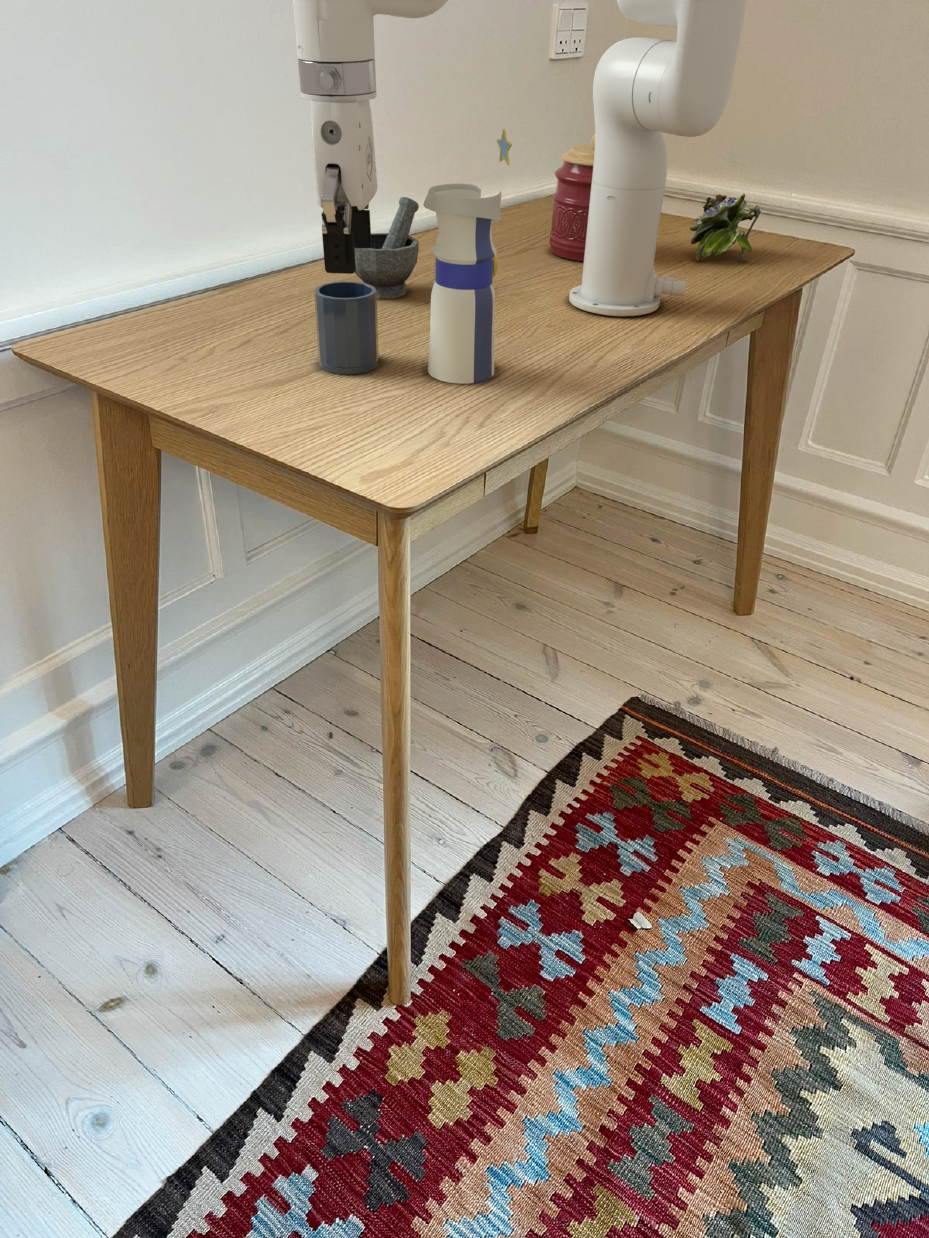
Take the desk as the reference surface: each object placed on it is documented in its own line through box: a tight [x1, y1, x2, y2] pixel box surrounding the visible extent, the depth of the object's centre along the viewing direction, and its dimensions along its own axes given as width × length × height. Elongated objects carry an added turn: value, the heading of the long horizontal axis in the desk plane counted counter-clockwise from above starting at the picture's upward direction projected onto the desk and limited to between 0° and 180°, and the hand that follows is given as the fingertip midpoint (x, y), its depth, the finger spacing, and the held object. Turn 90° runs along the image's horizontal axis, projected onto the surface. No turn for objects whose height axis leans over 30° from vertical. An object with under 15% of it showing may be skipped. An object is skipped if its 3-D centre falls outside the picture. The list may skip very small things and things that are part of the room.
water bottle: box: [422, 128, 513, 385], centre depth 100 cm, size 8×9×25 cm
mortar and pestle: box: [354, 196, 420, 300], centre depth 128 cm, size 11×9×12 cm
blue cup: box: [313, 280, 379, 375], centre depth 106 cm, size 7×7×8 cm
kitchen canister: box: [548, 133, 595, 262], centre depth 147 cm, size 13×13×18 cm
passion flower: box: [689, 192, 762, 262], centre depth 150 cm, size 11×11×12 cm
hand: (349, 259), depth 102 cm, fingers open, 9 cm apart
